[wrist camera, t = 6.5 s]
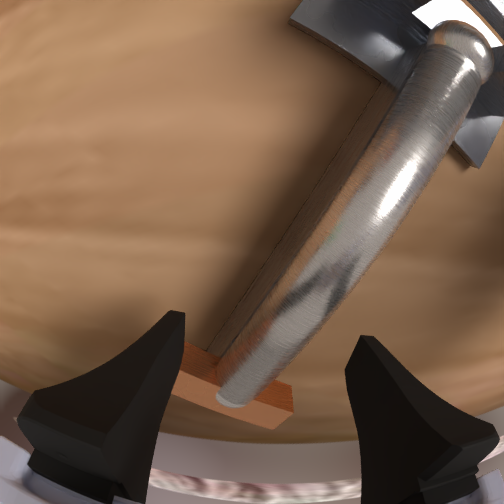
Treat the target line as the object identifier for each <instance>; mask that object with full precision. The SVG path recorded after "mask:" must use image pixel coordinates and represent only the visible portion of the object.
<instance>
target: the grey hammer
mask: <svg viewBox="0 0 504 504" xmlns="http://www.w3.org/2000/svg"><path fill="white" fill-rule="evenodd" d="M467 1H468V2H469V3H470V4H471V5H472V6H473V7H474V8H475V9H476V10H477V11H478V12H479V13H480V14H481V15H482V16H483V17H484V18H485V19H486V20H487V22H488V23H489V24H490V25H491V26H492V27H493V28H494V29H495V31H496V32H497V33H498V34H499V35H500V36H501V38H502V39H503V40H504V0H467ZM450 19H454V20H460V21H464V22H466V23H469V24H470V25H472V26H474V27H475V28H477V29H478V30H479V31H480V32H481V33H482V34H483V35H484V36H485V38H486V39H487V41H488V42H489V44H490V46H491V48H492V51H493V55H494V69H493V72H492V75H491V77H490V78H489V79H488V80H487V81H486V82H485V83H484V84H482V85H481V86H480V89H479V91H478V93H477V95H476V97H475V99H474V101H473V103H472V105H471V107H470V109H469V111H468V113H467V115H466V117H465V119H464V121H463V123H462V125H461V127H460V129H459V131H458V132H457V134H456V136H455V138H454V140H453V142H452V143H451V145H452V146H453V147H454V148H455V149H456V150H457V151H458V152H459V153H460V155H461V156H462V157H463V158H464V159H465V160H466V161H467V162H468V163H469V164H470V166H472V167H475V168H478V169H479V168H480V167H481V165H482V163H483V161H484V159H485V157H486V155H487V153H488V151H489V149H490V147H491V145H492V143H493V141H494V139H495V137H496V135H497V133H498V131H499V128H500V126H501V124H502V122H503V120H504V45H502V44H501V43H500V42H499V40H498V39H497V38H496V37H495V36H494V34H493V33H492V32H491V31H490V30H489V29H488V28H487V27H486V26H485V24H484V23H483V22H482V21H481V20H480V19H479V18H478V17H477V16H476V15H475V14H474V13H473V12H472V11H471V10H470V9H469V8H468V7H467V6H466V5H465V4H464V3H463V2H462V1H461V0H303V1H302V2H301V3H300V5H299V6H298V7H297V9H296V10H295V11H294V13H293V14H292V16H291V17H290V19H289V22H288V24H290V25H292V26H294V27H296V28H298V29H300V30H302V31H303V32H305V33H307V34H309V35H311V36H312V37H314V38H316V39H317V40H319V41H321V42H323V43H324V44H326V45H327V46H329V47H331V48H332V49H334V50H336V51H337V52H339V53H340V54H342V55H343V56H345V57H346V58H348V59H349V60H351V61H352V62H354V63H355V64H357V65H358V66H360V67H361V68H362V69H364V70H365V71H367V72H368V73H369V74H371V75H372V76H373V77H375V78H376V79H378V80H379V81H380V82H381V84H380V85H379V87H378V89H377V90H376V92H375V94H374V95H373V97H372V98H371V100H370V102H369V103H368V105H367V106H366V108H365V110H364V111H363V113H362V114H361V116H360V118H359V119H358V121H357V122H356V124H355V126H354V127H353V129H352V130H351V132H350V133H349V135H348V137H347V138H346V140H345V141H344V143H343V145H342V146H341V148H340V149H339V151H338V152H337V154H336V156H335V157H334V159H333V160H332V162H331V163H330V165H329V167H328V168H327V170H326V171H325V173H324V174H323V176H322V177H321V179H320V181H319V182H318V184H317V185H316V187H315V188H314V190H313V191H312V193H311V195H310V196H309V198H308V199H307V201H306V202H305V204H304V205H303V207H302V208H301V210H300V211H299V213H298V215H297V216H296V218H295V219H294V221H293V222H292V224H291V225H290V227H289V228H288V230H287V231H286V233H285V234H284V236H283V237H282V239H281V240H280V242H279V244H278V245H277V247H276V248H275V250H274V251H273V253H272V254H271V256H270V257H269V259H268V260H267V262H266V263H265V265H264V266H263V268H262V269H261V271H260V272H259V274H258V275H257V277H256V278H255V280H254V281H253V283H252V284H251V286H250V287H249V289H248V290H247V292H246V293H245V295H244V296H243V298H242V299H241V301H240V302H239V304H238V305H237V306H236V308H235V309H234V311H233V312H232V314H231V315H230V317H229V318H228V320H227V321H226V323H225V324H224V326H223V327H222V329H221V330H220V332H219V333H218V335H217V336H216V337H215V339H214V340H213V342H212V343H211V345H210V346H209V348H208V349H207V351H206V352H209V353H211V354H213V355H215V356H218V357H220V358H222V357H223V356H224V355H225V353H226V352H227V351H228V349H229V348H230V347H231V345H232V344H233V343H234V341H235V340H236V339H237V337H238V336H239V334H240V333H241V332H242V330H243V329H244V328H245V326H246V325H247V324H248V322H249V321H250V319H251V318H252V317H253V315H254V314H255V313H256V311H257V310H258V308H259V307H260V306H261V304H262V303H263V301H264V300H265V299H266V297H267V296H268V294H269V293H270V292H271V290H272V289H273V287H274V286H275V285H276V283H277V282H278V280H279V279H280V278H281V276H282V275H283V273H284V272H285V270H286V269H287V268H288V266H289V265H290V263H291V262H292V260H293V259H294V258H295V256H296V255H297V253H298V252H299V250H300V249H301V247H302V246H303V244H304V243H305V242H306V240H307V239H308V237H309V236H310V234H311V233H312V231H313V230H314V228H315V227H316V225H317V224H318V222H319V221H320V219H321V218H322V216H323V215H324V213H325V212H326V210H327V209H328V207H329V206H330V204H331V203H332V201H333V200H334V198H335V197H336V195H337V194H338V192H339V191H340V189H341V188H342V186H343V185H344V183H345V182H346V180H347V179H348V177H349V175H350V174H351V172H352V171H353V169H354V168H355V166H356V165H357V163H358V161H359V160H360V158H361V157H362V155H363V154H364V152H365V150H366V149H367V147H368V146H369V144H370V142H371V141H372V139H373V138H374V136H375V134H376V133H377V131H378V130H379V128H380V126H381V125H382V123H383V122H384V120H385V118H386V117H387V115H388V113H389V112H390V110H391V108H392V107H393V105H394V103H395V102H396V100H397V99H398V97H399V95H400V93H401V92H402V90H403V88H404V87H405V85H406V83H407V82H408V80H409V78H410V77H411V75H412V73H413V71H414V70H415V68H416V66H417V65H418V63H419V61H420V59H421V58H422V56H423V54H424V52H425V50H426V49H427V45H426V44H427V37H428V34H429V32H430V30H431V29H432V28H433V27H434V26H435V25H436V24H438V23H439V22H441V21H444V20H450Z"/></svg>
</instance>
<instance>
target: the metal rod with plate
mask: <svg viewBox="0 0 504 504" xmlns="http://www.w3.org/2000/svg"><path fill="white" fill-rule="evenodd" d="M426 45H427V49H426V50H425V52H424V54H423V56H422V58H421V59H420V61H419V63H418V65H417V66H416V68H415V70H414V71H413V73H412V75H411V77H410V78H409V80H408V82H407V83H406V85H405V87H404V88H403V90H402V92H401V93H400V95H399V97H398V99H397V100H396V102H395V103H394V105H393V107H392V108H391V110H390V112H389V113H388V115H387V117H386V118H385V120H384V122H383V123H382V125H381V126H380V128H379V130H378V131H377V133H376V134H375V136H374V138H373V139H372V141H371V142H370V144H369V146H368V147H367V149H366V150H365V152H364V154H363V155H362V157H361V158H360V160H359V161H358V163H357V165H356V166H355V168H354V169H353V171H352V172H351V174H350V175H349V177H348V179H347V180H346V182H345V183H344V185H343V186H342V188H341V189H340V191H339V192H338V194H337V195H336V197H335V198H334V200H333V201H332V203H331V204H330V206H329V207H328V209H327V210H326V212H325V213H324V215H323V216H322V218H321V219H320V221H319V222H318V224H317V225H316V227H315V228H314V230H313V231H312V233H311V234H310V236H309V237H308V239H307V240H306V242H305V243H304V244H303V246H302V247H301V249H300V250H299V252H298V253H297V255H296V256H295V258H294V259H293V260H292V262H291V263H290V265H289V266H288V268H287V269H286V270H285V272H284V273H283V275H282V276H281V278H280V279H279V280H278V282H277V283H276V285H275V286H274V287H273V289H272V290H271V292H270V293H269V294H268V296H267V297H266V299H265V300H264V301H263V303H262V304H261V306H260V307H259V308H258V310H257V311H256V313H255V314H254V315H253V317H252V318H251V319H250V321H249V322H248V324H247V325H246V326H245V328H244V329H243V330H242V332H241V333H240V334H239V336H238V337H237V339H236V340H235V341H234V343H233V344H232V345H231V347H230V348H229V349H228V351H227V352H226V353H225V355H224V356H223V357H222V358H220V357H218V356H215V355H213V354H211V353H209V352H206V351H204V350H202V349H200V348H198V347H196V346H193V345H191V344H189V343H187V342H185V341H184V353H183V357H182V362H181V366H180V370H179V373H178V376H177V379H176V381H175V384H174V387H173V389H172V392H171V393H172V394H174V395H176V396H178V397H181V398H183V399H186V400H188V401H190V402H193V403H195V404H198V405H200V406H203V407H206V408H208V409H211V410H214V411H216V412H219V413H222V414H225V415H228V416H230V417H233V418H236V419H239V420H242V421H245V422H248V423H252V424H255V425H258V426H261V427H265V428H268V429H272V430H274V429H275V428H276V427H277V426H279V425H280V424H281V423H282V422H283V421H285V420H286V419H287V418H288V417H290V416H291V415H292V414H293V413H294V410H293V399H292V388H291V386H290V385H287V384H285V383H282V382H279V381H277V380H275V379H276V378H277V376H278V375H279V374H280V373H281V372H282V371H283V370H284V369H285V368H286V367H287V366H288V365H289V364H290V363H291V362H292V361H293V359H294V358H295V357H296V356H297V355H298V354H299V353H300V352H301V351H302V350H303V348H304V347H305V346H306V345H307V344H308V343H309V342H310V341H311V339H312V338H313V337H314V336H315V335H316V334H317V333H318V331H319V330H320V329H321V328H322V327H323V326H324V324H325V323H326V322H327V321H328V320H329V319H330V317H331V316H332V315H333V314H334V313H335V311H336V310H337V309H338V308H339V306H340V305H341V304H342V303H343V302H344V300H345V299H346V298H347V297H348V295H349V294H350V293H351V292H352V290H353V289H354V288H355V287H356V285H357V284H358V283H359V281H360V280H361V279H362V278H363V276H364V275H365V274H366V272H367V271H368V270H369V268H370V267H371V266H372V264H373V263H374V262H375V260H376V259H377V258H378V256H379V255H380V254H381V252H382V251H383V249H384V248H385V247H386V245H387V244H388V243H389V241H390V240H391V238H392V237H393V235H394V234H395V233H396V231H397V230H398V228H399V227H400V225H401V224H402V222H403V221H404V219H405V218H406V217H407V215H408V214H409V212H410V211H411V209H412V208H413V206H414V204H415V203H416V201H417V200H418V198H419V197H420V195H421V194H422V192H423V190H424V189H425V187H426V186H427V184H428V182H429V181H430V179H431V178H432V176H433V174H434V173H435V171H436V169H437V168H438V166H439V164H440V163H441V161H442V159H443V157H444V156H445V154H446V152H447V150H448V149H449V147H450V145H451V143H452V142H453V140H454V138H455V136H456V134H457V132H458V131H459V129H460V127H461V125H462V123H463V121H464V119H465V117H466V115H467V113H468V111H469V109H470V107H471V105H472V103H473V101H474V99H475V97H476V95H477V93H478V91H479V89H480V86H481V85H482V84H484V83H485V82H486V81H487V80H488V79H489V78H490V77H491V75H492V72H493V69H494V55H493V51H492V48H491V46H490V44H489V42H488V41H487V39H486V38H485V36H484V35H483V34H482V33H481V32H480V31H479V30H478V29H477V28H475V27H474V26H472V25H470V24H469V23H466V22H464V21H460V20H454V19H450V20H444V21H441V22H439V23H438V24H436V25H435V26H434V27H433V28H432V29H431V30H430V32H429V34H428V37H427V44H426Z"/></svg>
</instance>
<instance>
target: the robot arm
mask: <svg viewBox="0 0 504 504" xmlns="http://www.w3.org/2000/svg"><path fill="white" fill-rule="evenodd" d="M184 336H185V313H184V312H178V311H173V310H170V311H168V312H167V313H166V314H165V315H164V316H163V317H162V318H161V319H160V320H159V321H158V322H157V323H156V324H155V325H154V326H153V327H152V328H151V329H150V330H149V331H147V332H146V333H145V334H144V335H143V336H142V337H141V338H139V339H138V340H137V341H136V342H135V343H133V344H132V345H131V346H129V347H128V348H127V349H126V350H124V351H123V352H121V353H120V354H119V355H117V356H116V357H114V358H113V359H111V360H110V361H108V362H106V363H105V364H103V365H101V366H99V367H98V368H96V369H94V370H92V371H90V372H88V373H86V374H84V375H82V376H79V377H77V378H74V379H72V380H69V381H66V382H64V383H61V384H58V385H54V386H51V387H47V388H44V389H40V390H35V391H34V392H33V394H32V395H31V397H30V398H29V399H28V401H27V403H26V404H25V406H24V407H23V409H22V411H21V413H20V414H19V416H18V418H17V423H18V426H19V428H20V429H21V431H22V432H23V434H24V435H25V436H26V438H27V439H28V440H29V442H30V443H31V444H32V446H33V447H34V448H35V449H34V451H33V453H32V455H31V454H30V453H29V452H28V451H26V450H25V449H23V448H22V447H20V446H18V445H17V444H15V443H13V442H12V441H10V440H8V439H6V438H5V437H4V436H0V503H1V504H145V502H146V495H147V488H148V482H149V476H150V470H151V465H152V459H153V455H154V449H155V445H156V440H157V436H158V432H159V427H160V423H161V420H162V417H163V414H164V411H165V408H166V405H167V403H168V400H169V397H170V395H171V392H172V389H173V387H174V384H175V381H176V379H177V376H178V373H179V370H180V366H181V362H182V357H183V353H184ZM345 377H346V386H347V392H348V396H349V400H350V404H351V408H352V412H353V416H354V420H355V424H356V428H357V432H358V437H359V445H360V455H361V473H362V488H361V504H504V481H503V478H502V476H501V473H500V471H499V469H495V470H493V471H491V472H489V473H487V474H485V475H482V476H481V477H479V478H476V476H475V474H476V473H477V472H478V471H479V469H478V467H477V464H478V463H479V462H481V461H482V460H483V459H484V458H485V457H486V456H487V455H488V454H489V453H491V452H492V451H493V450H494V448H495V447H496V446H497V445H498V443H499V440H500V438H499V436H498V434H497V431H496V429H495V427H494V426H493V424H490V423H488V422H485V421H483V420H480V419H478V418H475V417H473V416H471V415H469V414H467V413H465V412H463V411H461V410H459V409H457V408H456V407H454V406H452V405H451V404H449V403H448V402H446V401H444V400H443V399H442V398H440V397H439V396H437V395H436V394H435V393H433V392H432V391H431V390H429V389H428V388H427V387H426V386H424V385H423V384H422V383H421V382H420V381H419V380H418V379H416V378H415V377H414V376H413V375H412V374H411V373H410V372H409V371H408V370H407V369H406V368H405V367H404V366H403V365H402V364H401V363H400V362H399V361H398V360H397V359H396V358H395V357H394V356H393V355H392V354H391V353H390V352H389V351H388V350H387V349H386V348H385V347H384V346H383V345H382V344H381V343H380V342H379V341H378V340H377V339H376V338H375V337H374V336H365V335H360V338H359V340H358V342H357V344H356V346H355V349H354V351H353V353H352V355H351V357H350V359H349V361H348V364H347V366H346V368H345Z"/></svg>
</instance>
